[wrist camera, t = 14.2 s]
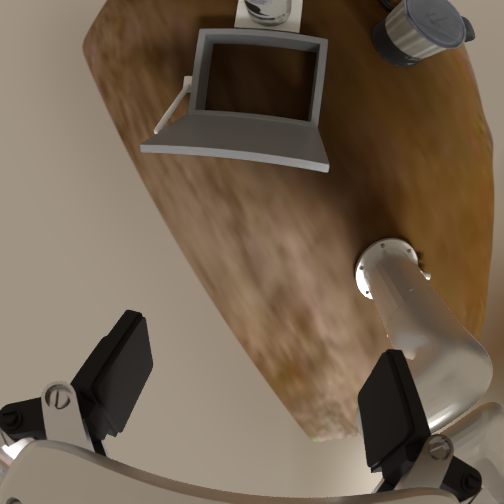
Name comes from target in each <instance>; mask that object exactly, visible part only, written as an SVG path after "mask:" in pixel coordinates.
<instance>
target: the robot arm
mask: <svg viewBox="0 0 504 504" xmlns="http://www.w3.org/2000/svg"><path fill="white" fill-rule="evenodd" d="M382 243H383V244H382ZM381 244H382V245H381ZM360 266H361V267H360ZM430 277H431V274H430V273H429V272H422V270H421V269H420V268H419V267H418V259H417V255H416V253H415V251H414V250H413V248H412V247H411V246H410V245H409V244H408V243H407V242H405V241H403V240H401V239H398V238H385V239H381V240H379V241H376V242H375V243H373V244H371V245H370V246H369V247H368V248H367V249H365V251H364V252H363V253H362V254H361V256H360V258H359V259H358V262H357V264H356V268H355V280H356V283H357V286H358V288H359V290H360V291H361V293H362V294H363V295H365V296H366V297H368V298H370V299H373V302H374V304H375V306H376V309H377V311H378V313H379V316H380V318H381V321H382V323H383V325H384V328H385V330H386V333H387V335H388V338H389V340H390V343H391V345H392V346H393V348H394V349H388V350H387V351H386V352H385V353H382V355H381V356H380V358H379V360H378V362H377V364H376V365H375V367H374V369H373V370H372V372H371V374H370V376H369V377H368V379H367V380H366V382H365V384H364V385H363V387H362V389H361V390H360V392H359V394H358V405H359V406H358V408H357V412H356V420H357V425H358V428H359V431H360V433H361V435H362V437H363V439H364V444H365V451H366V459H367V465H368V467H371V473H375V472H382V475H383V478H382V479H381V481H380V482H379V484H378V485H377V486H376V488H375V489H374V491H373V492H372V493H371V494H364V495H354V496H343V497H329V498H328V497H327V498H286V497H285V498H284V497H269V496H257V495H248V494H240V493H232V492H226V491H220V490H215V489H210V488H205V487H200V486H195V485H191V484H187V483H182V482H179V481H175V480H171V479H168V478H165V477H161V476H158V475H155V474H152V473H149V472H146V471H143V470H140V469H137V468H134V467H131V466H128V465H126V464H123V463H120V462H118V461H115V460H113V459H110V457H109V455H108V452H107V449H106V446H105V444H104V441H103V440H104V439H105V437H106V435H107V434H109V435H111V436H114V437H116V436H117V433H118V432H119V433H121V432H122V431H123V429H124V427H125V425H126V423H127V420H128V419H129V417H130V414H131V412H132V410H133V408H134V406H135V404H136V401H137V400H138V397H139V395H140V393H141V391H142V389H143V387H144V385H145V383H146V381H147V379H148V377H149V375H150V373H151V371H152V368H153V360H152V354H151V348H150V342H149V336H148V330H147V323H146V319H145V317H143V316H142V314H141V313H140V312H136V311H132V310H126V311H125V313H124V314H123V315H122V316H121V318H120V319H119V320H118V322H117V323H116V325H115V326H114V327H113V329H112V330H111V331H110V333H109V334H108V335H107V336H105V337H103V338H102V339H101V341H100V342H99V343H98V345H97V346H96V348H95V349H94V350H93V352H92V353H91V354H90V356H89V357H88V359H87V360H86V361H85V363H84V365H83V366H82V367H81V369H80V370H79V372H78V373H77V374H76V376H75V377H74V379H73V380H72V382H71V383H70V384H68V383H66V382H63V381H55V382H52V383H50V384H49V385H47V386H46V387H45V388H44V390H43V392H42V396H41V397H39V398H35V399H30V400H26V401H21V402H16V403H11V404H8V405H5V406H4V407H3V408H2V409H1V410H0V504H504V407H503V406H502V405H501V404H500V403H497V402H488V403H485V404H483V405H481V406H480V407H478V408H477V409H475V410H473V411H472V412H471V413H469V414H468V415H466V416H465V417H463V418H462V419H461V420H459V421H458V422H456V423H455V424H453V425H452V426H450V427H449V428H447V429H446V430H444V431H443V432H441V433H440V434H434V435H431V434H432V433H434V432H436V431H437V430H439V429H441V428H443V427H444V426H446V425H447V424H448V423H450V422H452V421H453V420H454V419H456V418H457V417H459V416H460V415H461V414H463V413H464V412H465V411H467V410H468V409H469V408H470V407H471V406H473V405H474V404H475V403H476V402H477V401H478V400H479V399H480V398H481V397H482V396H483V394H484V393H485V392H486V390H487V388H488V387H489V384H490V382H491V379H492V374H493V367H492V363H491V360H490V358H489V356H488V354H487V352H486V351H485V349H484V348H483V347H482V346H481V345H480V343H479V342H478V341H477V340H476V339H475V338H474V337H473V336H472V335H471V334H470V333H469V332H468V331H467V330H466V329H465V328H464V327H463V325H462V324H461V323H460V322H459V321H458V320H457V318H456V317H455V316H454V315H453V313H452V312H451V311H450V309H449V308H448V307H447V305H446V304H445V303H444V301H443V300H442V299H441V297H440V296H439V295H438V293H437V292H436V291H435V289H434V288H433V287H432V285H431V284H430V283H429V281H428V280H429V279H430ZM405 357H406V358H408V359H411V360H412V361H411V362H410V363H409V364H407V361H406V359H405Z"/></svg>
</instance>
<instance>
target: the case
mask: <svg viewBox="0 0 504 504" xmlns="http://www.w3.org/2000/svg"><path fill="white" fill-rule="evenodd" d="M214 44H246V45H260V46H271V47H280V48H288V49H295V50H302V51H308V52H314V53H317V54H316V62H315V71H314V79H313V87H312V95H311V103H310V110H309V117H308V121H302V120H296V119H290V118H283V117H276V116H268V115H259V114H250V113H240V112H227V111H211V110H205V104H206V96H207V88H208V80H209V72H210V65H211V58H212V52H213V45H214ZM327 47H328V39H323V38H318V37H313V36H307V35H300V34H293V33H286V32H277V31H267V30H253V29H200V30H199V36H198V42H197V48H196V54H195V61H194V68H193V75H192V76H184V84H183V90H182V91H181V92H180V94H179V95H178V96H177V98H176V99H175V100H174V102H173V103H172V104H171V106H170V107H169V109H168V110H167V112H166V113H165V114H164V116H163V117H162V119H161V120H160V122H159V123H158V125H157V126H156V128H155V129H154V133H155V135H154V136H152V137H151V138H149V139H148V140H146V141H145V142H144V143H142V144H141V145H140V147H141V152H152V153H174V154H189V155H202V156H214V157H224V158H234V159H242V160H251V161H259V162H266V163H273V164H280V165H286V166H293V167H299V168H305V169H311V170H316V171H321V172H327V173H328V170H329V165H330V164H329V161H328V158H327V155H326V151H325V148H324V145H323V142H322V139H321V136H320V133H319V130H318V121H319V114H320V106H321V99H322V91H323V83H324V75H325V66H326V57H327ZM187 92H188V93H190V99H189V108H188V114H186V115H185V116H183V117H182V118H180V119H178V120H177V121H175V122H173V123H172V124H170V125H169V126H167V127H166V128H164V129H163V127H164V126H165V124H166V123H167V121H168V120H169V118H170V117H171V115H172V114H173V112H174V111H175V109H176V108H177V106H178V105H179V103H180V102H181V100H182V99H183V97H184V96H185V95H186V93H187ZM162 129H163V130H162Z"/></svg>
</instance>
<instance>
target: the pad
mask: <svg viewBox="0 0 504 504" xmlns="http://www.w3.org/2000/svg"><path fill="white" fill-rule="evenodd" d="M302 3H303V0H292V4H291V13H290V16H289V17H288V19H287V20H286V21H285V22H283V23H282V24H279V25H277V26H264V25H261V24H259V23H257V22H255V21H254V20H253V19H252V18H251V17H250V15H249V13H248V10H247V7H246V4H245V1H244V0H239V1H238V7H237V13H236V19H235V25H234V28H236V29H257V30H270V31H280V32H288V33H295V34H299V30H300V21H301V12H302Z"/></svg>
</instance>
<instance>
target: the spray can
mask: <svg viewBox="0 0 504 504" xmlns="http://www.w3.org/2000/svg"><path fill="white" fill-rule="evenodd" d="M244 1H245V4H246V7H247V10H248V13H249V15H250V17H251V18H252V19H253V20H254V21H255V22H257V23H259V24H261V25H264V26H277V25H279V24H282V23H283V22H285V21H286V20H287V19H288V17H289V16H290V13H291V4H292V0H244Z"/></svg>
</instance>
